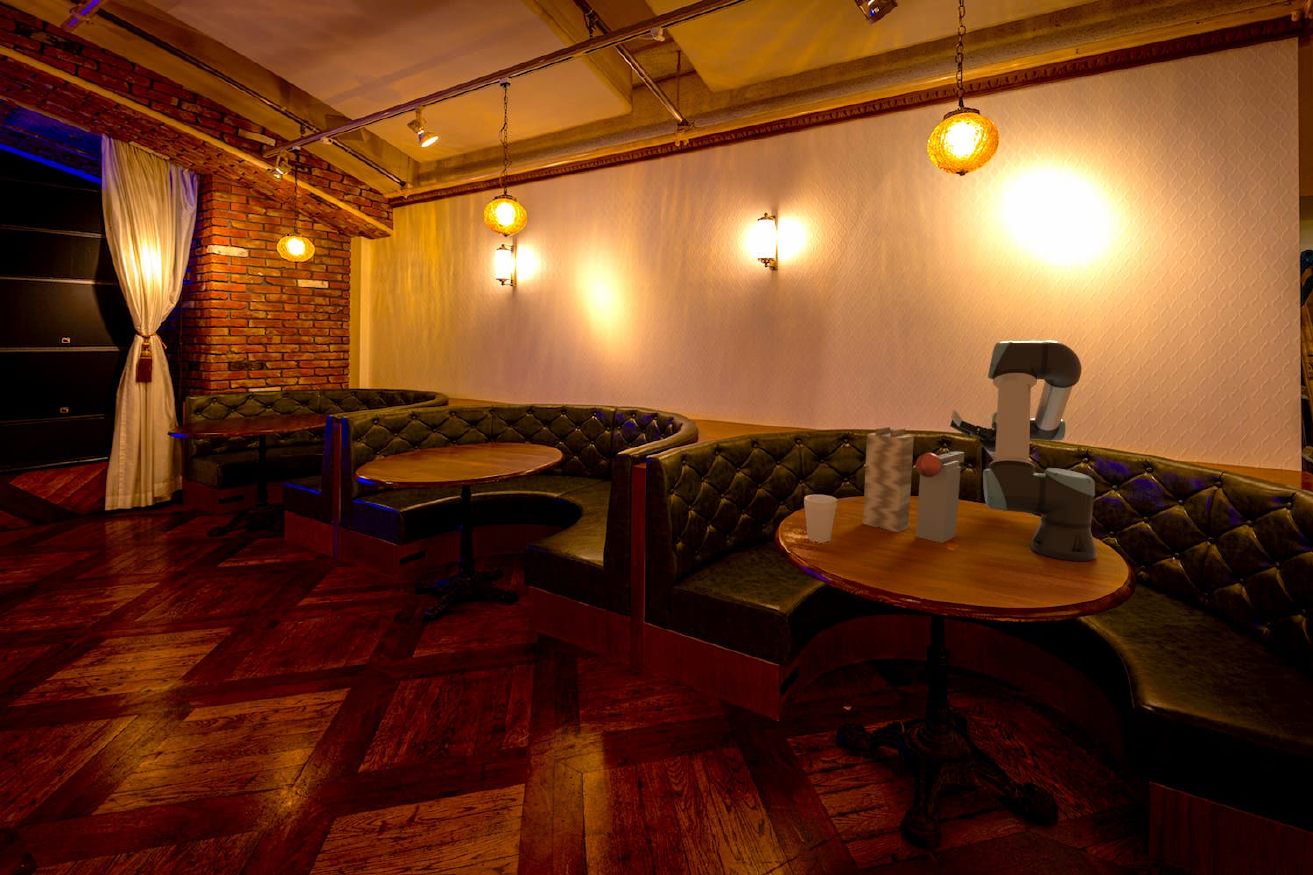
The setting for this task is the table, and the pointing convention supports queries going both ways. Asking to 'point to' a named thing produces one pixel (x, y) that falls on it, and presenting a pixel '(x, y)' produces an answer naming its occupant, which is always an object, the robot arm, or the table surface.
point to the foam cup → (819, 516)
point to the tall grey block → (939, 504)
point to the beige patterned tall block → (888, 479)
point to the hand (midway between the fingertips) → (974, 415)
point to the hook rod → (936, 462)
